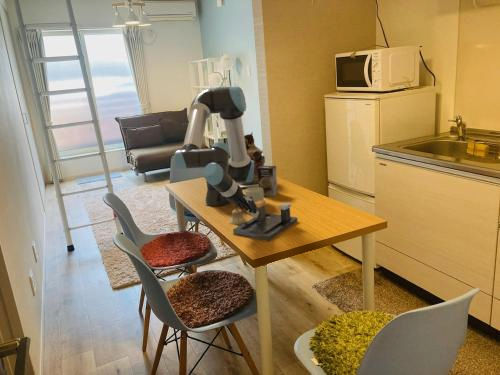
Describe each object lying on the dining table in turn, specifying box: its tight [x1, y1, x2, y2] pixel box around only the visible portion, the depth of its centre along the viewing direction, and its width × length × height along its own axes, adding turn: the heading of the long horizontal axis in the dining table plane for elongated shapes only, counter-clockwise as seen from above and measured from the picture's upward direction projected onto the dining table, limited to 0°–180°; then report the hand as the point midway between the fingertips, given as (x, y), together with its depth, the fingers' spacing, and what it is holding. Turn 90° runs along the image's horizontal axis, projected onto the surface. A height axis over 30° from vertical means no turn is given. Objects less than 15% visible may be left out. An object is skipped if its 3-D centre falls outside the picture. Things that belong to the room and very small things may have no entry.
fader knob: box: [255, 200, 267, 221], centre depth 183 cm, size 3×5×9 cm
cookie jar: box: [237, 131, 266, 189], centre depth 249 cm, size 25×25×32 cm
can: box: [244, 187, 265, 215], centre depth 199 cm, size 9×9×12 cm
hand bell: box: [228, 203, 248, 226], centre depth 186 cm, size 8×8×16 cm
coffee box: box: [258, 165, 278, 197], centre depth 225 cm, size 9×6×16 cm
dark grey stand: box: [232, 202, 298, 242], centre depth 177 cm, size 18×24×10 cm
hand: (256, 214), depth 180 cm, fingers closed
